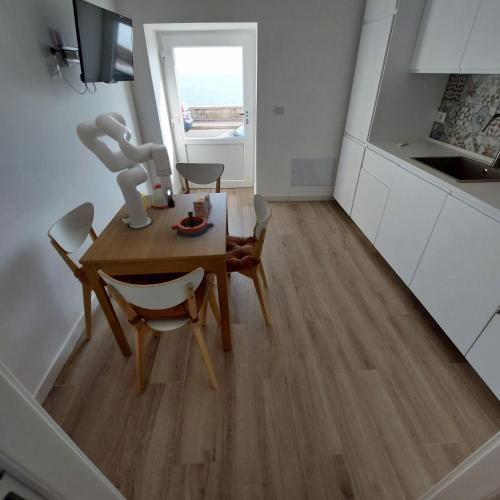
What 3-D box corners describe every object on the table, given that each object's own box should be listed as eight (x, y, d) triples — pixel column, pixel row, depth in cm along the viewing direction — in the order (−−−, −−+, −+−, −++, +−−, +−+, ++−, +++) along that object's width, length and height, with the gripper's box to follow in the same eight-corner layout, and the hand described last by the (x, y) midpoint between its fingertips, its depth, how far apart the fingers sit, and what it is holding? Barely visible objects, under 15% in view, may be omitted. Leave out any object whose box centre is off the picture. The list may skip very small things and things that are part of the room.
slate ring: (209, 219, 163) (209, 216, 162) (215, 232, 151) (215, 228, 150) (177, 225, 158) (176, 222, 157) (180, 238, 146) (180, 235, 144)
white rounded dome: (170, 208, 177) (165, 186, 169) (149, 208, 178) (143, 187, 170) (175, 200, 189) (171, 179, 181) (156, 200, 190) (151, 179, 181)
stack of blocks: (201, 205, 181) (199, 187, 174) (210, 205, 181) (208, 187, 174) (195, 220, 163) (192, 201, 156) (205, 220, 163) (203, 201, 156)
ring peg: (187, 234, 150) (183, 215, 143) (184, 227, 156) (181, 209, 150) (201, 231, 152) (198, 212, 146) (198, 225, 158) (196, 206, 152)
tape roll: (148, 206, 182) (145, 192, 177) (146, 212, 174) (142, 198, 168) (133, 207, 181) (129, 194, 175) (130, 214, 172) (126, 200, 167)
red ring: (173, 236, 143) (172, 232, 142) (170, 223, 156) (169, 219, 155) (209, 229, 149) (208, 225, 147) (203, 217, 161) (202, 213, 160)
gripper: (154, 168, 139) (162, 199, 148) (157, 178, 125) (165, 211, 135) (169, 166, 141) (175, 197, 150) (173, 175, 127) (180, 209, 137)
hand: (170, 204), depth 142 cm, fingers open, 9 cm apart
